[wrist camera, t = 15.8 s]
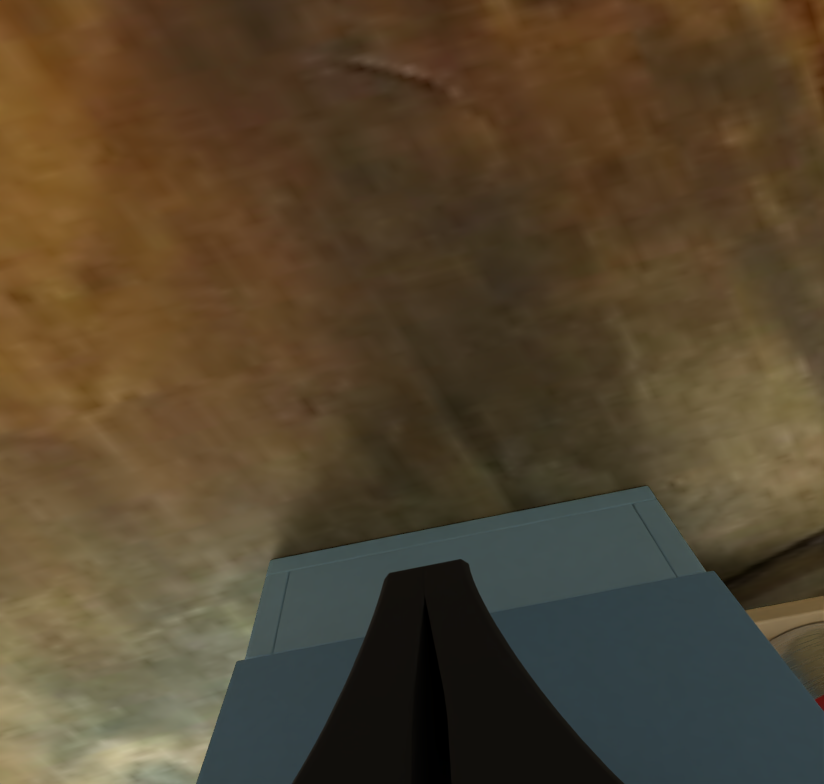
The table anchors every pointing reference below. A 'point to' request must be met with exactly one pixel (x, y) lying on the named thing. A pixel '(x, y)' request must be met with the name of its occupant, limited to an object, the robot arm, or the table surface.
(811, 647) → the can
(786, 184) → the table surface
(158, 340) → the table surface
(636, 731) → the lid
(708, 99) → the table surface
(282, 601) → the cooler
